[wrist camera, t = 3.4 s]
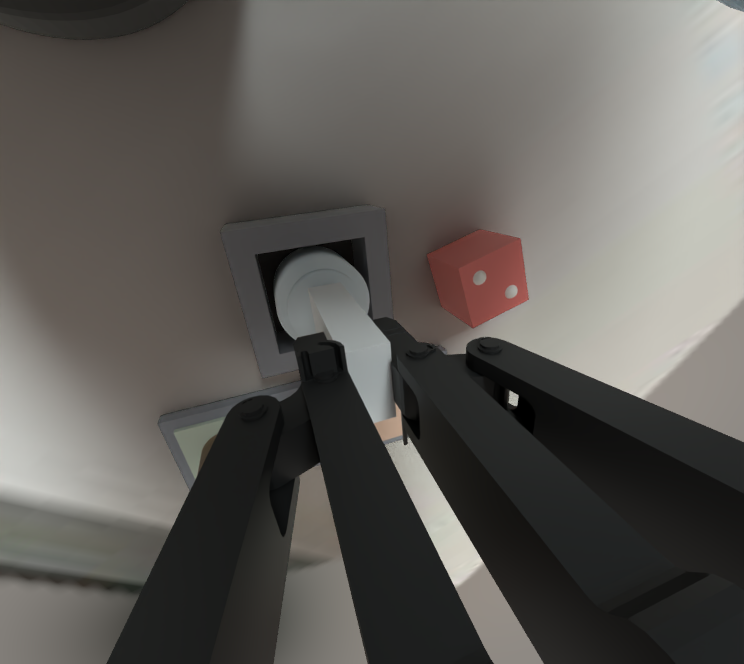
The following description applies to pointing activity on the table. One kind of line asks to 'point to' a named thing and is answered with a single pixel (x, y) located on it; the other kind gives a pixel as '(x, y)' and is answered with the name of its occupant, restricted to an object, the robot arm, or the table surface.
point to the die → (479, 276)
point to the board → (203, 422)
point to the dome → (308, 272)
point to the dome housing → (296, 232)
